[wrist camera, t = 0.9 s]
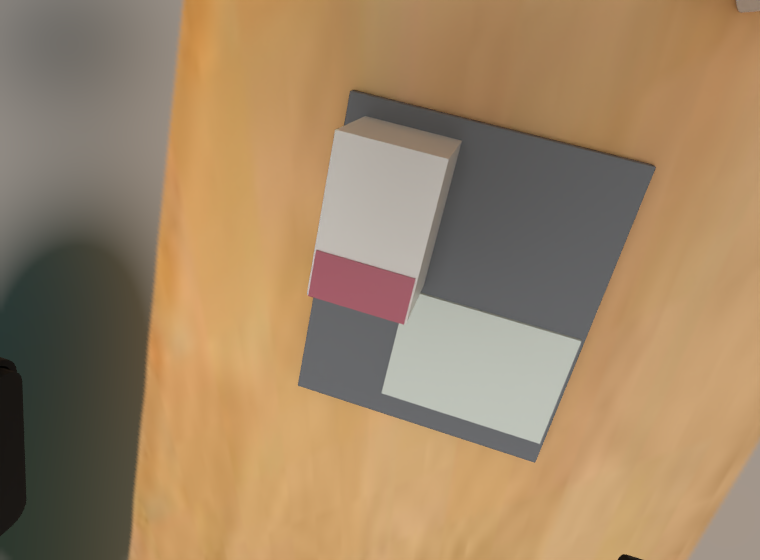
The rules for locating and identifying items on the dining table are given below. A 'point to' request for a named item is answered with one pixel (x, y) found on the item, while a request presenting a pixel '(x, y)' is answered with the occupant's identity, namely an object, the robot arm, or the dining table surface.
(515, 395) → the mat
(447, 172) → the card deck case
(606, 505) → the dining table surface
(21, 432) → the robot arm
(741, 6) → the ink cartridge box
